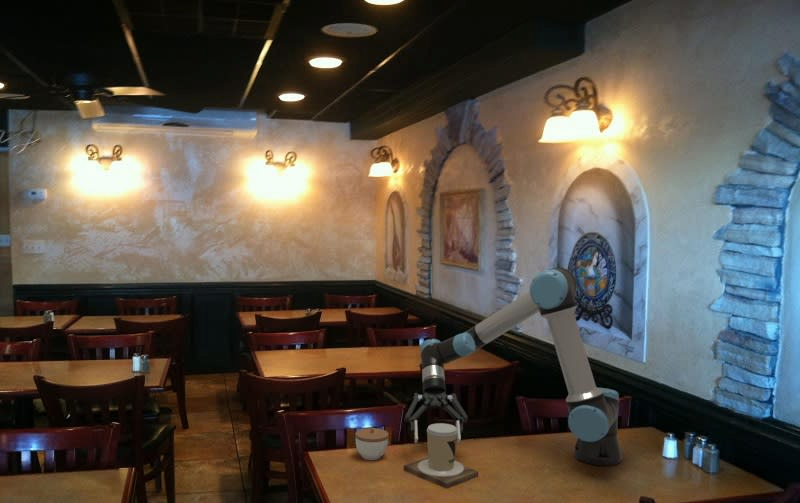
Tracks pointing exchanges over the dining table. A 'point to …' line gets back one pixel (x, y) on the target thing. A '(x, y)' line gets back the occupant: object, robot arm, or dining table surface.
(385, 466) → the dining table surface
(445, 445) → the coffee cup
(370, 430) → the lidded jar
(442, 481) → the serving board
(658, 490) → the dining table surface
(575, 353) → the robot arm
